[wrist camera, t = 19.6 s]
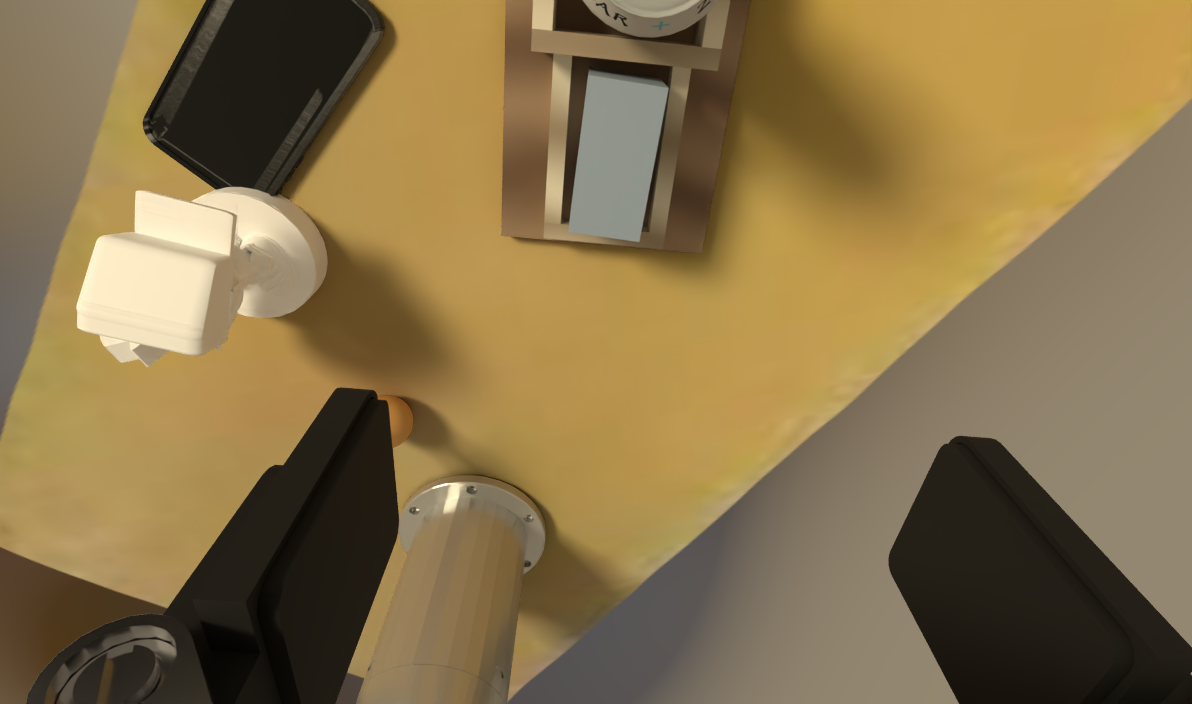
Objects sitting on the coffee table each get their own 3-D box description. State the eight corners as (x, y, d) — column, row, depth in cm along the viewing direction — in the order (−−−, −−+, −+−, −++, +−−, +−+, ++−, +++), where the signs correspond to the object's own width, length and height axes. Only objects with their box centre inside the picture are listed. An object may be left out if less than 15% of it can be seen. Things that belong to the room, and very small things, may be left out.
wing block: (634, 215, 38) (639, 242, 34) (571, 206, 38) (568, 231, 33) (659, 77, 34) (668, 87, 30) (589, 66, 34) (588, 75, 29)
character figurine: (193, 287, 41) (58, 381, 31) (186, 150, 37) (25, 206, 26) (324, 318, 43) (236, 419, 32) (332, 189, 38) (233, 257, 28)
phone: (135, 131, 36) (257, -98, 30) (148, 128, 37) (268, -94, 31) (258, 220, 38) (390, 24, 33) (267, 215, 39) (396, 24, 34)
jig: (699, 248, 40) (710, 274, 36) (503, 230, 39) (493, 255, 35) (773, -143, 30) (800, -166, 26) (512, -176, 29) (499, -204, 25)
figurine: (385, 451, 48) (327, 572, 38) (319, 409, 46) (239, 525, 36) (446, 388, 45) (402, 501, 35) (378, 340, 43) (310, 445, 33)
